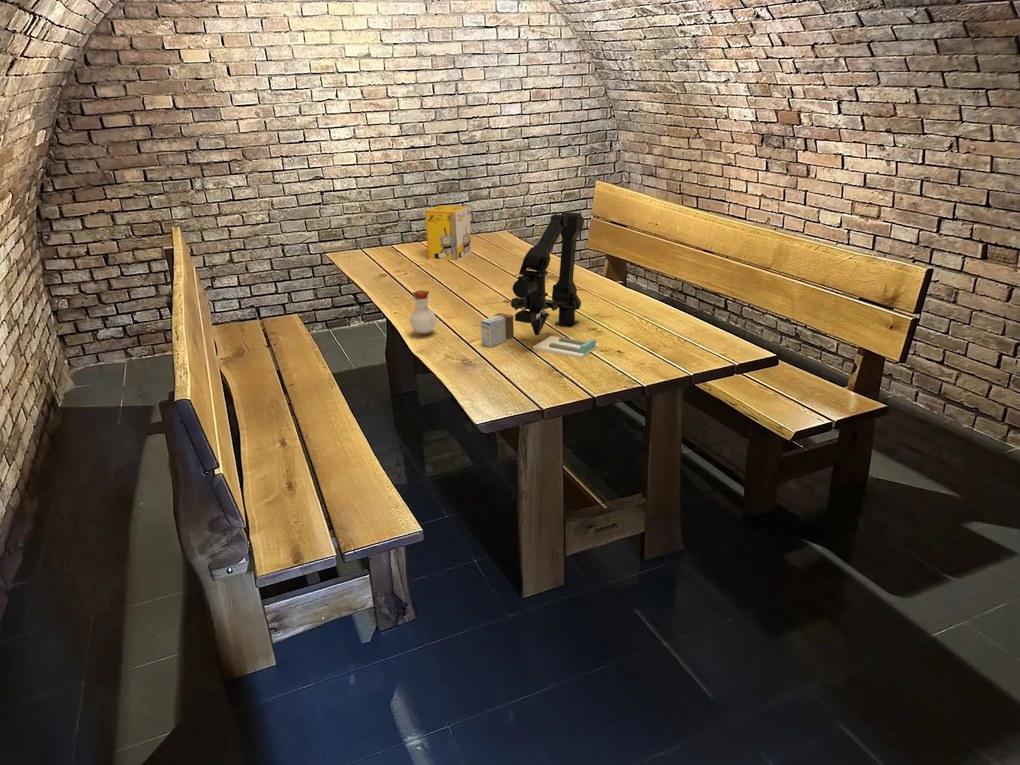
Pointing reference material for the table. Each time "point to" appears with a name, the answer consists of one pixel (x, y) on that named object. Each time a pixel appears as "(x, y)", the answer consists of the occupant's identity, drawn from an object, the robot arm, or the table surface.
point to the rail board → (566, 346)
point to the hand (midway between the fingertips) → (537, 335)
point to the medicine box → (493, 331)
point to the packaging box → (448, 232)
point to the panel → (508, 324)
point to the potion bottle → (422, 314)
